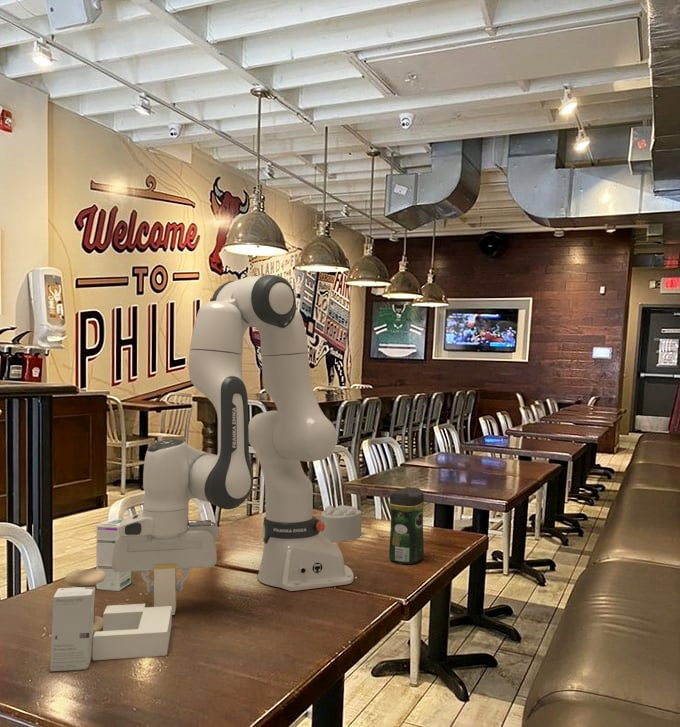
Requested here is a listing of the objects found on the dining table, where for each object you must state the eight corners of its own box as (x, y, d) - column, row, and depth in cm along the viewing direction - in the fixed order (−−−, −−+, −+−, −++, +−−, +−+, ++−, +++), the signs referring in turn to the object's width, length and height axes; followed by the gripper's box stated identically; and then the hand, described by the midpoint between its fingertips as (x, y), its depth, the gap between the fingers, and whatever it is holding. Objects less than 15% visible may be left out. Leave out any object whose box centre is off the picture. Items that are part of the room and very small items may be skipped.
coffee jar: (400, 552, 172) (401, 483, 172) (427, 557, 168) (428, 487, 168) (383, 561, 164) (385, 489, 164) (412, 567, 160) (413, 492, 160)
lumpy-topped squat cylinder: (365, 535, 190) (366, 506, 190) (341, 544, 179) (342, 514, 179) (336, 529, 196) (337, 501, 196) (311, 538, 185) (312, 509, 185)
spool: (106, 619, 124) (107, 568, 124) (100, 634, 117) (101, 580, 117) (68, 622, 122) (69, 569, 122) (59, 637, 115) (60, 581, 116)
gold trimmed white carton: (176, 606, 130) (176, 557, 130) (175, 614, 126) (175, 564, 126) (155, 608, 129) (155, 558, 129) (153, 616, 125) (153, 565, 125)
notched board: (172, 623, 123) (172, 602, 123) (166, 655, 109) (167, 631, 109) (106, 626, 120) (106, 605, 120) (92, 660, 107) (93, 636, 107)
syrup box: (119, 591, 139) (120, 525, 139) (94, 589, 140) (96, 523, 140) (132, 583, 145) (134, 519, 145) (109, 581, 146) (110, 517, 146)
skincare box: (49, 673, 102) (50, 597, 102) (54, 660, 106) (56, 587, 107) (89, 669, 104) (91, 594, 104) (94, 657, 108) (95, 585, 108)
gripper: (218, 515, 133) (218, 582, 133) (115, 519, 129) (114, 588, 129) (218, 523, 126) (218, 593, 126) (110, 527, 122) (109, 599, 122)
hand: (165, 590), depth 127 cm, fingers closed on gold trimmed white carton, 4 cm apart
